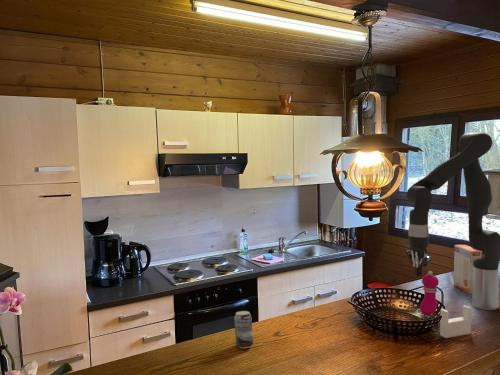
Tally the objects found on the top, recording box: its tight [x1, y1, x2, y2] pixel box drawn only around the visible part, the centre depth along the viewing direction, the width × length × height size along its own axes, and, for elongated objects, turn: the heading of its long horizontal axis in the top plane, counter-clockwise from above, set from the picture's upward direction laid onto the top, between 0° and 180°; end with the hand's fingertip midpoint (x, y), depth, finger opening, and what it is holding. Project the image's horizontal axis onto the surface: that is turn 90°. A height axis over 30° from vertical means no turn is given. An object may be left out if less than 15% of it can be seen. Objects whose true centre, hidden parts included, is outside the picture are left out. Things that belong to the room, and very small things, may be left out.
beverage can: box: [233, 310, 254, 349], centre depth 133 cm, size 6×7×12 cm
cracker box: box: [453, 244, 483, 295], centre depth 184 cm, size 14×6×21 cm, turn 179°
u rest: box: [439, 305, 472, 339], centre depth 139 cm, size 11×2×10 cm, turn 106°
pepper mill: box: [419, 270, 439, 315], centre depth 151 cm, size 7×7×20 cm
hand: (418, 275), depth 157 cm, fingers closed
